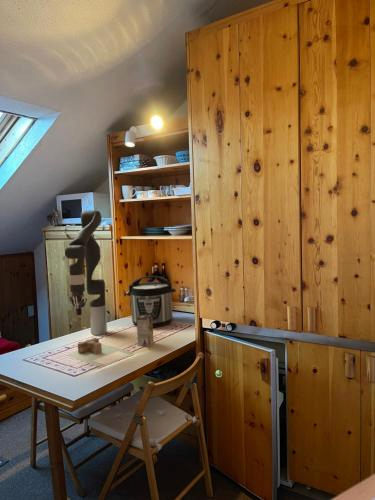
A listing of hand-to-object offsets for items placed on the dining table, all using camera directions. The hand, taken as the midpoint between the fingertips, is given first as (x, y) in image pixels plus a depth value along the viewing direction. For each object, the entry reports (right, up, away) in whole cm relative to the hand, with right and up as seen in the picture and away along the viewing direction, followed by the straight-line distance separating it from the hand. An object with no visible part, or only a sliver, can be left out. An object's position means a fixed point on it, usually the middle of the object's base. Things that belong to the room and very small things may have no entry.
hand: (79, 315), depth 204 cm
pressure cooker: (+35, -14, +50) cm, 62 cm away
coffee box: (+35, -18, +5) cm, 40 cm away
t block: (+9, -18, -6) cm, 21 cm away
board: (+13, -19, -9) cm, 25 cm away
